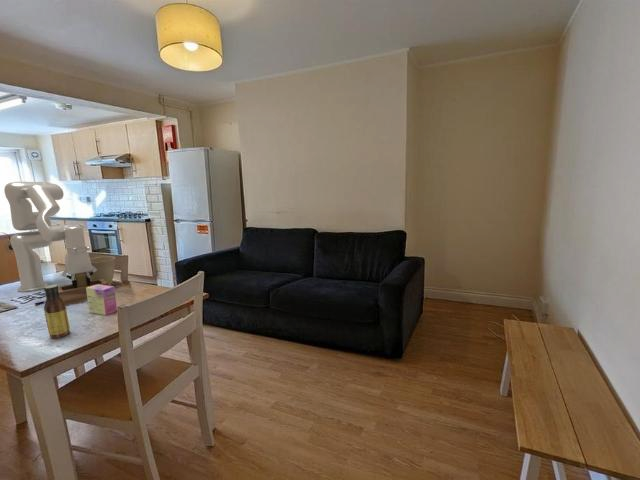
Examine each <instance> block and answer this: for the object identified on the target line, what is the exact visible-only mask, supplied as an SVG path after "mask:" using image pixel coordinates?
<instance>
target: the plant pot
mask: <svg viewBox="0 0 640 480" xmlns="http://www.w3.org/2000/svg"><path fill="white" fill-rule="evenodd" d="M90 260H91V264H92V265H93V266H94V267H95V268H96V269H97V271H96V272H94V273H93V274H92V275H91V277H90V281H92V280H97V279H104V280H105V281H106V282H107V283H108V286H112V283H113V279H114V275H115V267H116V257H115V256H110V255H109V256H108V255H107V256H97V257H92V258H91V257H90ZM92 270H93V269H92ZM90 272H91V271H90ZM90 272H89V273H90Z"/></svg>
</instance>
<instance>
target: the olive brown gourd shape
mask: <svg viewBox="0 0 640 480" xmlns="http://www.w3.org/2000/svg"><path fill="white" fill-rule="evenodd" d="M86 277H87V274H86V273H79V274H75V280H76V284H77V288H80V287H85V286H88V284H87V280H86Z"/></svg>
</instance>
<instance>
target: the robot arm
mask: <svg viewBox="0 0 640 480" xmlns="http://www.w3.org/2000/svg"><path fill="white" fill-rule="evenodd" d="M3 191H4V195H5V198H6V200H7V202H8V204H9V208H10V209H9V210H10V216H11V218H10V219H11V224H12V227H13V229H15V230H16V231H27V232H20V233H14V234H13V235H12V236H11V237H10V240H9V242H10V245H11V247H12V250H13V252H14V256H15V261H16V264H17V265H16V266H17V270H18V276H19V282H20V287H17V291H18V292H21V293H22V292H24V293H25V292H34V291H38V290H44V287H45V286H49V284H48V283H47V282H45V281H44V275H43V269H42V264H41V258H40V256H39V254H38V253H37V252H35V251H34V250H35V249H39V248H40V249H41V248H47V247H50V246H51V245H52V243H53V242H61V241H65V246H66V247H65V248H66V253H65V256H64V258H65V259H64V264H65V269H64V270H63V272H62V273H61V277H63V278H67V279H69V280H71V284H72V285H73V286H74V287H75V288H77V284H76V279H75V274H79V273H86V274H87V277H86V280H87V284H88V286H89V283H91V282H90V281H91V280H90V277H91V275H92V274H93V273H94V272H96V271H97V269H96V268H95V267H94V266H93V265H92V264H91V260H90V259H91V257H90V256H91V255H90V253H89V252H88V251H89V250H90V247H89V246H86V240H85V233H84V228H83V226H81V225H75V224H73V223H72V224H71V223H70V224H63V225H62V224H59V225H52V222H51V221H52V220H51V217H52V216H53V217H54V216H55V215H56V214H57V213H59V212H60V210H61V208H60V205H59V204H58V202H57V201H59V200H62V199H63V198H64V190H63V188H62V187H61V186H59V185H58V184H57V183H56V184H55V183H52V182H46V181H13V182H8V183H7V184H6V185H5V186H4V190H3ZM28 199H30V201H31V202H30V201H29V200H28ZM32 204H33V206H34V207H35V208H36V210H37V211H33V206H32ZM31 230H33V231H31ZM35 230H37V231H35ZM92 269H93V270H92ZM90 271H91V272H90ZM89 272H90V273H89Z"/></svg>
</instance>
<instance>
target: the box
mask: <svg viewBox="0 0 640 480" xmlns="http://www.w3.org/2000/svg"><path fill="white" fill-rule="evenodd" d="M86 292H87V299H88V301H87V306H88V313H90V314H91V313H92V314H98V315H101V316H102V315H103V316H108V315H110V314H112V313H115V312H117V311H116V308H117V309H118V307H117V299H116V289H115V286H113V285H111V286H107V285H100V284H97V285H93V286H90V287H87V288H86Z"/></svg>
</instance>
